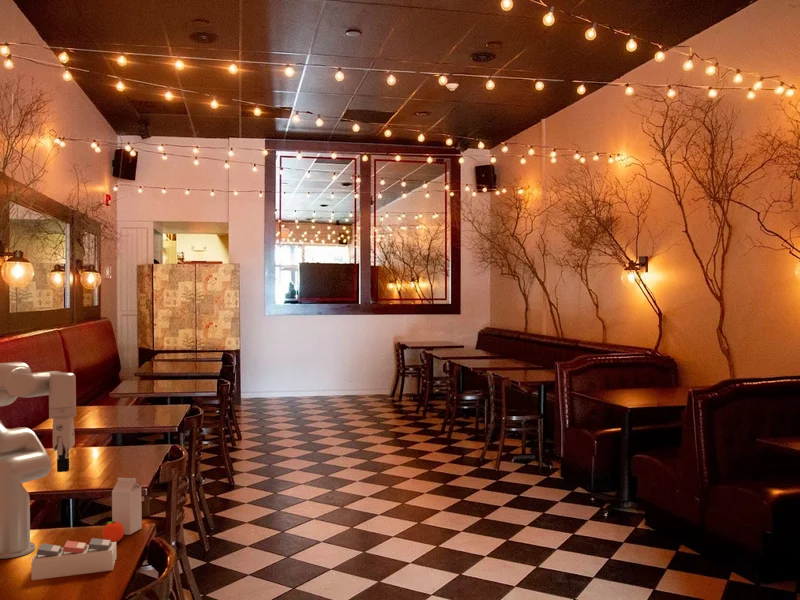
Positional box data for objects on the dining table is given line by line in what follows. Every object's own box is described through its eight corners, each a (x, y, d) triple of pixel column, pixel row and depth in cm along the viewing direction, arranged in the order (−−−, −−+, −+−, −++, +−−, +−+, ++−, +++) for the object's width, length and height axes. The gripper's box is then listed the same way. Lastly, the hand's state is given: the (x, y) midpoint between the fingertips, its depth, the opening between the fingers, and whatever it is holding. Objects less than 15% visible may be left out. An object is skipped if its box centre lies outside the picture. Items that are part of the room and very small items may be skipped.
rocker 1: (36, 554, 195) (37, 549, 196) (40, 547, 201) (41, 542, 201) (56, 557, 197) (58, 552, 197) (60, 550, 202) (61, 545, 202)
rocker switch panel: (31, 580, 194) (31, 559, 194) (39, 566, 204) (39, 547, 204) (112, 570, 200) (112, 550, 201) (116, 557, 211) (116, 538, 211)
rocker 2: (88, 548, 200) (89, 543, 200) (90, 542, 205) (92, 537, 205) (107, 550, 201) (108, 545, 201) (109, 544, 207) (111, 539, 207)
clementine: (94, 544, 223) (94, 523, 223) (108, 537, 230) (108, 517, 230) (115, 546, 221) (115, 525, 221) (128, 539, 228) (128, 518, 228)
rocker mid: (62, 551, 198) (63, 546, 198) (65, 545, 203) (67, 540, 203) (82, 553, 199) (83, 548, 199) (85, 547, 204) (86, 542, 205)
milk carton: (130, 535, 232) (129, 481, 232) (112, 534, 233) (111, 480, 234) (142, 528, 239) (141, 476, 239) (124, 527, 240) (123, 475, 240)
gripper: (71, 415, 200) (72, 475, 200) (79, 408, 214) (80, 465, 214) (44, 416, 198) (44, 478, 198) (54, 409, 212) (54, 467, 212)
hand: (63, 471), depth 206 cm, fingers closed
